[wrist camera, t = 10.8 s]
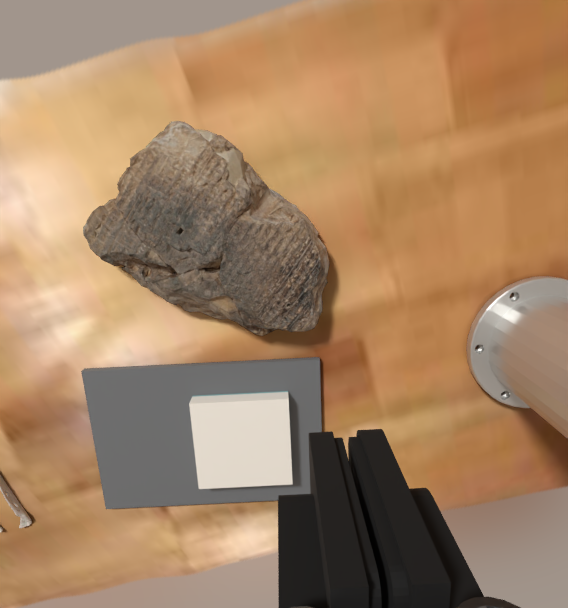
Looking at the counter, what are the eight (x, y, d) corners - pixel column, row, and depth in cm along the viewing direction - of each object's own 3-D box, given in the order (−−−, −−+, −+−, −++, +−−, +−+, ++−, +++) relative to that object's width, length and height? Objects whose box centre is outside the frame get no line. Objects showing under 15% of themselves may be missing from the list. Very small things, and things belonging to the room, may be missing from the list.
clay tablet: (364, 253, 38) (179, 99, 34) (376, 264, 33) (163, 87, 30) (267, 367, 41) (87, 236, 37) (266, 391, 36) (59, 245, 33)
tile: (192, 395, 40) (288, 390, 40) (201, 478, 42) (292, 473, 42) (189, 403, 39) (288, 398, 39) (198, 489, 41) (292, 484, 41)
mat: (319, 357, 40) (319, 359, 39) (322, 494, 44) (323, 497, 43) (84, 368, 40) (81, 371, 39) (108, 504, 44) (106, 509, 43)
